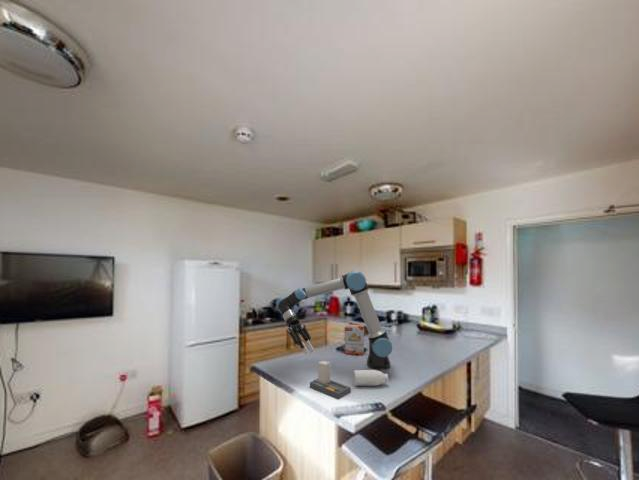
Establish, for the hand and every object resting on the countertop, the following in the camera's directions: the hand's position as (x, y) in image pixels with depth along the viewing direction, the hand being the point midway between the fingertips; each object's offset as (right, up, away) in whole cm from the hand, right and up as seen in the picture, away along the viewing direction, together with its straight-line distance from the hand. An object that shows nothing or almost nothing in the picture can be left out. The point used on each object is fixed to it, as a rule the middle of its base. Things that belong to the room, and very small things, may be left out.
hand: (309, 351), depth 157 cm
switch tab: (+8, -13, -9) cm, 17 cm away
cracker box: (+32, -22, +49) cm, 63 cm away
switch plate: (+11, -15, -12) cm, 22 cm away
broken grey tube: (+33, -16, -6) cm, 37 cm away
